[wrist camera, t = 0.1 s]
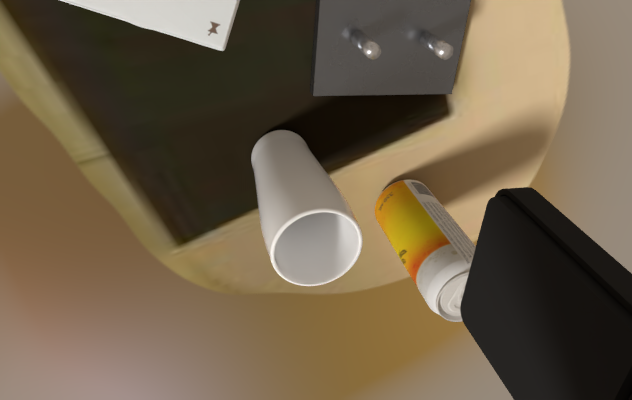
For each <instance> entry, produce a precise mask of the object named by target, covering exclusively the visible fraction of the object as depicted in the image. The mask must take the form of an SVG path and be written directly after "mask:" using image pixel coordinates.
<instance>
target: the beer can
mask: <svg viewBox="0 0 632 400" xmlns="http://www.w3.org/2000/svg"><path fill="white" fill-rule="evenodd" d="M375 216H376V219H377V221H378V223H379V224H380V226H381V228H382V229H383V231H384V233H385V234H386V236H387V238H388V239H389V241H390V243H391V244H392V246H393V248H394V249H395V251H396V253H397V254H398V256H399V258H400V259H401V261H402V263H403V264H404V266H405V267H406V269H407V271H408V272H409V274H410V276H411V277H412V279H413V281H414V282H415V284H416V286H417V287H418V289H419V291H420V292H421V294H422V296H423V297H424V299H425V301H426V302H427V304H428V306H429V307H430V308H431V310H432V311H434V312H435V313H437V314H439V315H441V316H442V317H443V318H444V319H446V320H449V321H454V322H460V321H463V320H462V317H461V312H460V306H461V301H462V297H463V293H464V290H465V286H466V282H467V278H468V275H469V271H470V267H471V263H472V260H473V256H474V252H475V248H476V246H475V245H474V244H473V243H472V241H471V240H470V239H469V238H468V236H467V235H466V234H465V233H464V232H463V230H462V229H461V228H460V227H459V225H458V224H457V223H456V222H455V221H454V219H453V218H452V217H451V216H450V214H449V213H448V212H447V211H446V210H445V208H444V207H443V206H442V205H441V204H440V202H439V201H438V200H437V199H436V197H435V196H434V195H433V194H432V193H431V191H430V190H429V189H428V188H427V186H426V185H424V184H423V183H422V182H420V181H417V180H410V179H409V180H402V181H397V182H395V183H393V184H391V185H389V186H388V187H387V188H385V189H384V191H383V192H382V193H381V195H380V196H379V198H378V200H377V202H376V205H375Z"/></svg>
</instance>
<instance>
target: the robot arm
mask: <svg viewBox="0 0 632 400" xmlns="http://www.w3.org/2000/svg"><path fill="white" fill-rule="evenodd" d="M460 312H461V317H462V320H463V322H464V324H465V326H466V327H467V329H468V330H469V332H470V333H471V335H472V336H473V338H474V339H475V341H476V342H477V344H478V345H479V347H480V348H481V350H482V352H483V353H484V355H485V356H486V358H487V359H488V360H489V362H490V364H491V365H492V367H493V368H494V370H495V371H496V373H497V374H498V376H499V377H500V379H501V380H502V382H503V383H504V385H505V386H506V388H507V389H508V391H509V393H510V394H511V396H512V397H513V399H514V400H632V274H631V273H630V272H629V271H628V270H627V269H626V268H624V267H623V266H622V265H621V264H620V263H619V262H617V261H616V260H615V259H614V258H613V257H612V256H610V255H609V254H608V253H607V252H606V251H605V250H603V248H601V247H600V246H599V245H598V244H597V243H595V242H594V241H593V240H592V239H591V238H590V237H589V236H588V235H586V234H585V233H584V232H583V231H581V229H580V228H578V227H577V226H576V225H575V224H574V223H573V222H571V221H570V220H569V219H568V218H567V217H566V216H565V215H563V214H562V213H561V212H560V211H559V210H558V209H556V208H555V207H554V206H553V205H552V204H551V203H550V202H548V201H547V200H546V199H545V198H544V197H543V196H542V195H540V194H539V193H538V192H537V191H536V190H534V189H533V188H528V187H525V188H510V189H502V190H500V191H498V192H497V194H496V195H495V197H493V198H491V199H490V200H489V201H488V204H487V207H486V211H485V215H484V218H483V222H482V226H481V230H480V233H479V237H478V241H477V245H476V248H475V252H474V256H473V260H472V263H471V267H470V271H469V275H468V278H467V282H466V286H465V290H464V293H463V297H462V301H461V306H460Z"/></svg>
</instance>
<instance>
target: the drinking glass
mask: <svg viewBox="0 0 632 400" xmlns="http://www.w3.org/2000/svg"><path fill="white" fill-rule="evenodd" d="M251 162H252V167H253V170H254V175H255V183H256V191H257V199H258V208H259V216H260V224H261V229H262V234H263V238H264V242H265V245H266V248H267V251H268V254H269V257H270V259H271V262H272V265H273V267H274V269H275V270H276V272H277V273H278V274H279V275H280V276H281V277H282V278H284V279H285V280H287V281H289V282H291V283H293V284H297V285H302V286H316V285H322V284H325V283H328V282H331V281H333V280H335V279H337V278H339V277H341V276H342V275H343V274H345V273H346V272H347V271H348V270H349V269H350V268H351V267H352V266H353V265H354V263H355V262H356V261H357V259H358V257H359V255H360V252H361V249H362V244H363V237H362V232H361V229H360V227H359V224H358V222H357V220H356V218H355V216H354V213H353V211H352V209H351V207H350V206H349V204H348V202H347V200H346V199H345V197H344V196H343V194H342V193H341V191H340V190H339V188H338V187H337V185H336V184H335V183H334V182H333V180H332V179H331V178H330V176H329V175H328V174H327V172H326V171H325V170H324V168H323V167H322V166H321V164H320V163H319V162H318V160H317V159H316V158H315V156H314V155H313V154H312V152H311V151H310V149H309V147H308V146H307V144H306V142H305V141H304V139H303V138H302V137H301V136H299V135H298V134H296V133H294V132H292V131H288V130H276V131H272V132H269V133H267V134H265V135H264V136H263V137H261V138H260V139H259V140H258V141H257V143H256V144H255V146H254V148H253V151H252V156H251Z"/></svg>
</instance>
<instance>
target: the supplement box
mask: <svg viewBox="0 0 632 400" xmlns="http://www.w3.org/2000/svg"><path fill="white" fill-rule="evenodd" d="M60 1H63V2H66V3H70V4H73V5H76V6H79V7H82V8H86V9H89V10H92V11H95V12H98V13H101V14H105V15H108V16H111V17H114V18H117V19H120V20H124V21H127V22H130V23H132V24H134V25H137V26H140V27H143V28H147V29H152V30H156V31H159V32H162V33H165V34H169V35H172V36H175V37H178V38H182V39H185V40H188V41H191V42H194V43H197V44H200V45H203V46H207V47H210V48H213V49H217V50H221V51H223V50H224V49H225V48H226V44H227V41H228V38H229V34H230V31H231V28H232V25H233V21H234V18H235V15H236V11H237V8H238V5H239V1H240V0H60Z"/></svg>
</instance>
